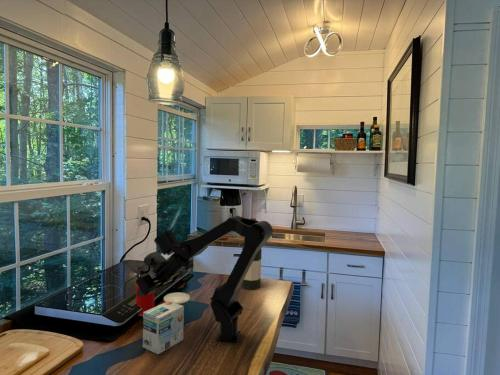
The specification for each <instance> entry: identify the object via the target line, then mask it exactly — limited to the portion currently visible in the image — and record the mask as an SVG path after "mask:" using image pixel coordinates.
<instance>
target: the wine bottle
mask: <svg viewBox="0 0 500 375" xmlns="http://www.w3.org/2000/svg"><path fill="white" fill-rule="evenodd" d="M249 219H252V220H256V221H258V220H257V219H256V218H255V217H251V218H249ZM243 248H244V246H243V247H242V249H241V251H242V250H243ZM262 252H263V250H262V248H261V249H260V250H259V251H258V252H257V254H256V256H255V258H254V260H253V262H252V264H251V266H250V268H249V270H248V272H247V274H246V276H245V278H244V280H243V282H242V283H241V285H240V287H241V288H242V289H243V290H246V291H257V290H259V289H260V288H261V273H262Z"/></svg>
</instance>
